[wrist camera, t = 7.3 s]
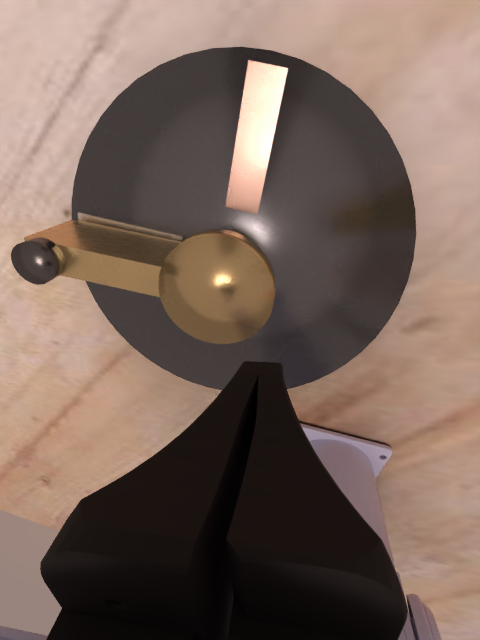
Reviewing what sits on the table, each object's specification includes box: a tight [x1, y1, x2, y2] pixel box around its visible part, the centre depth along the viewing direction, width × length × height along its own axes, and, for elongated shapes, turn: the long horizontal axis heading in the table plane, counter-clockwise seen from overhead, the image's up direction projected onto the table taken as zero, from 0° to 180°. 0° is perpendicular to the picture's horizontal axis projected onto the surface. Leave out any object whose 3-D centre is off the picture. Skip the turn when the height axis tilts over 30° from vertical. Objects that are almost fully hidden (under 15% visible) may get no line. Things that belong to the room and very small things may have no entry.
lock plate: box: [72, 47, 416, 390], centre depth 19 cm, size 20×20×4 cm
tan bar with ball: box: [11, 219, 276, 344], centre depth 17 cm, size 12×6×5 cm, turn 80°
